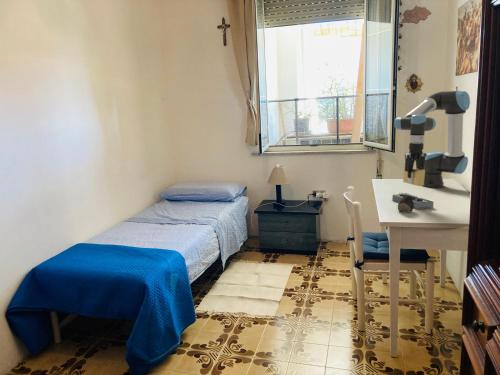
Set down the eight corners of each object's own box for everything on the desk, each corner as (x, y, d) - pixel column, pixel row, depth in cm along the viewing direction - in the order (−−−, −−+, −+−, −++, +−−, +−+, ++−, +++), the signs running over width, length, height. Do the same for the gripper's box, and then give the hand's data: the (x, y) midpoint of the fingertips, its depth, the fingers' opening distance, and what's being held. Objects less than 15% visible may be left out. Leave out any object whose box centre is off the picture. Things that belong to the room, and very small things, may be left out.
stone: (400, 214, 212) (394, 202, 207) (403, 204, 216) (397, 192, 211) (414, 213, 207) (408, 202, 202) (417, 203, 211) (411, 191, 206)
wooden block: (408, 181, 227) (409, 166, 225) (423, 185, 216) (425, 169, 214) (403, 181, 226) (404, 166, 224) (418, 186, 215) (419, 170, 213)
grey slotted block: (405, 198, 235) (406, 191, 235) (433, 207, 215) (433, 200, 214) (392, 200, 232) (392, 193, 231) (418, 209, 212) (419, 202, 211)
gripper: (408, 144, 210) (405, 185, 215) (433, 142, 215) (430, 183, 220) (399, 142, 216) (396, 183, 222) (423, 141, 222) (420, 180, 227)
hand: (413, 182), depth 221 cm, fingers closed on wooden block, 4 cm apart
